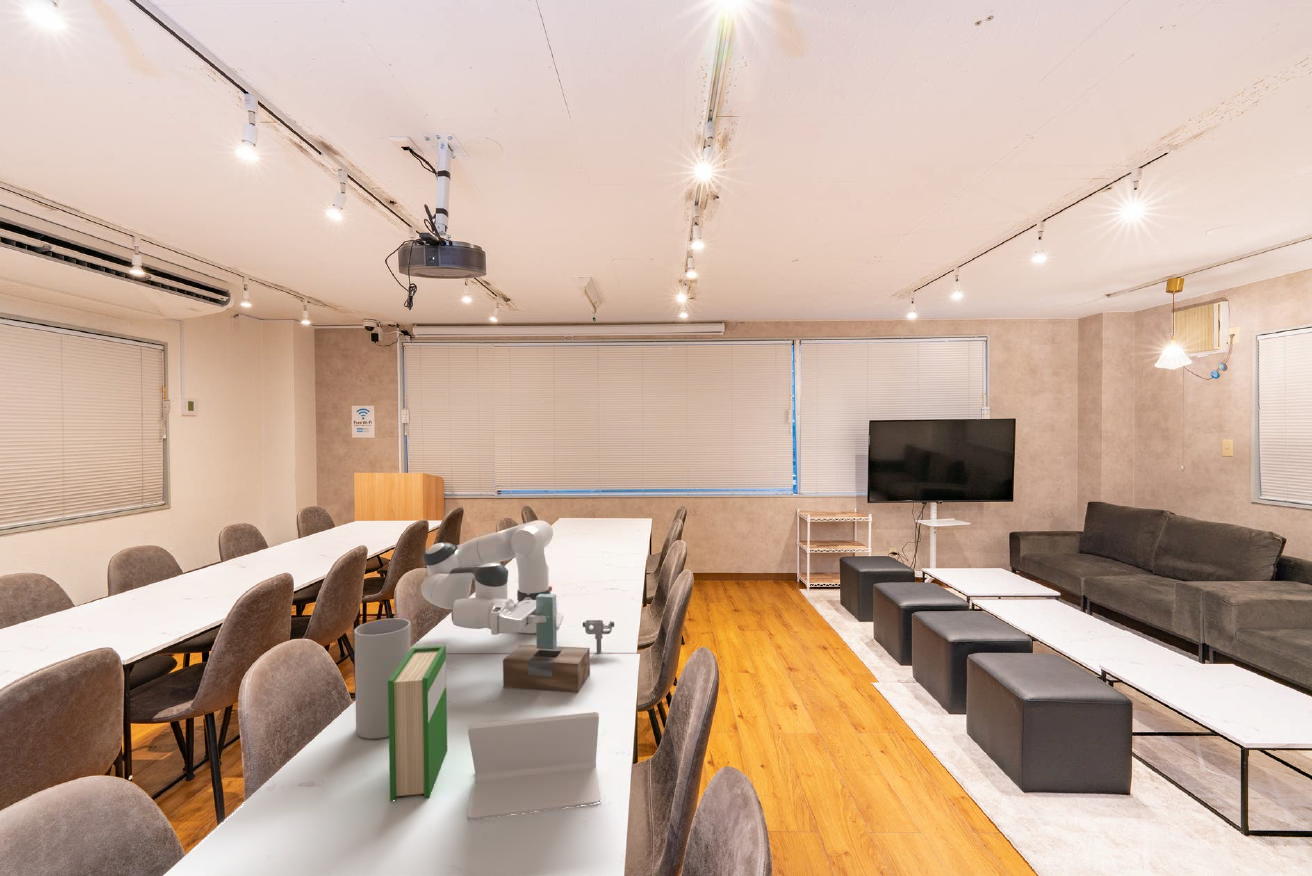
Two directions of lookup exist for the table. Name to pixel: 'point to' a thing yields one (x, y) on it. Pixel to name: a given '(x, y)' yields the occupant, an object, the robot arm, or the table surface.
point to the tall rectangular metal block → (546, 630)
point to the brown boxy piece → (546, 668)
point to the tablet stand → (534, 765)
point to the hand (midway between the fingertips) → (549, 616)
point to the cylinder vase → (377, 671)
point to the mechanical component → (597, 630)
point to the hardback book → (417, 721)
